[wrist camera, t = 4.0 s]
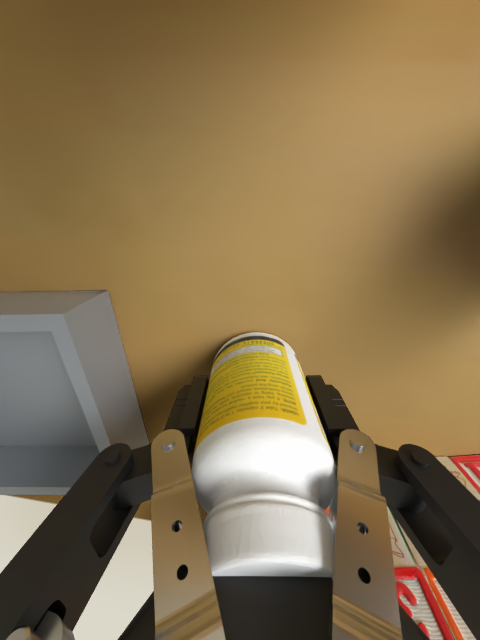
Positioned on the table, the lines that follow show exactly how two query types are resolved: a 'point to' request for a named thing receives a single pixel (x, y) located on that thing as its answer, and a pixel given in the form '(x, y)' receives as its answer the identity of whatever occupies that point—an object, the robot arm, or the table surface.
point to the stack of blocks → (416, 578)
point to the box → (61, 389)
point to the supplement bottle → (263, 465)
